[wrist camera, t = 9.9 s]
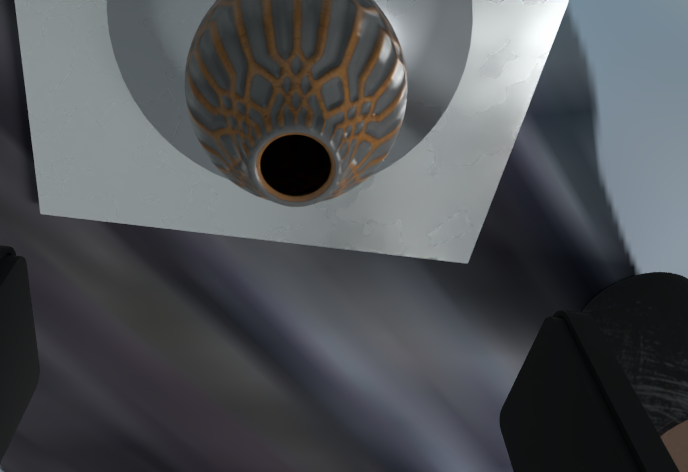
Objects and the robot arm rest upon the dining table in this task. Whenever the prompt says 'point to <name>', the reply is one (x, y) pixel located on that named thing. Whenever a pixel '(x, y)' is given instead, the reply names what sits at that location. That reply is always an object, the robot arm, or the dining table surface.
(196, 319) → the dining table surface
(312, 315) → the dining table surface
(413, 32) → the flange plate
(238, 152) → the vase
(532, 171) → the dining table surface
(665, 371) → the travel mug
